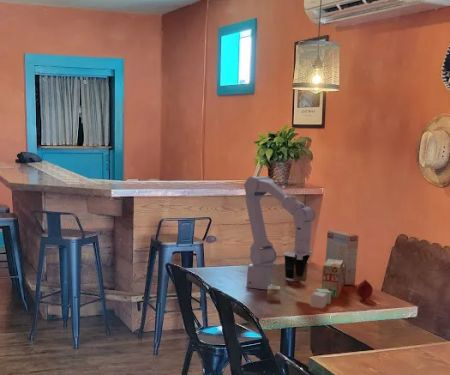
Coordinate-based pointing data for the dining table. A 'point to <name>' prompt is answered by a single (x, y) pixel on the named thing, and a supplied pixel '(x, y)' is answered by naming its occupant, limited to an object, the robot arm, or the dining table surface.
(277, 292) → the maple block
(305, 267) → the walnut bar
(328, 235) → the cracker box
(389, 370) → the dining table surface
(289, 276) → the dixie cup
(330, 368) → the dining table surface
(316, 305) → the white block
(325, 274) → the stack of blocks
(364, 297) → the onion
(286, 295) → the dining table surface
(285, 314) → the dining table surface
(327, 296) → the sage block
